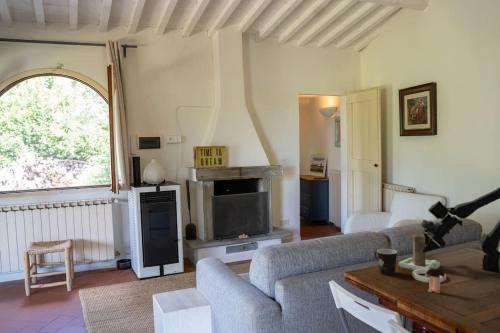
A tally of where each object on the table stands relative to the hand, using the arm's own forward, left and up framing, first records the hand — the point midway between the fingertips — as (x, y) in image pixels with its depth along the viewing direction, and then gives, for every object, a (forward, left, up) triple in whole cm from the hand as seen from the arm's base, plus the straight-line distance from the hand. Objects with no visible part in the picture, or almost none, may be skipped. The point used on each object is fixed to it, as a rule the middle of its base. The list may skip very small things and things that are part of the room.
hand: (420, 249), depth 190 cm
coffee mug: (+7, +18, -8) cm, 21 cm away
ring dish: (-10, +12, -8) cm, 18 cm away
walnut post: (+1, 0, -7) cm, 7 cm away
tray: (+1, 0, -8) cm, 8 cm away
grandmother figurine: (-20, +26, -8) cm, 34 cm away
